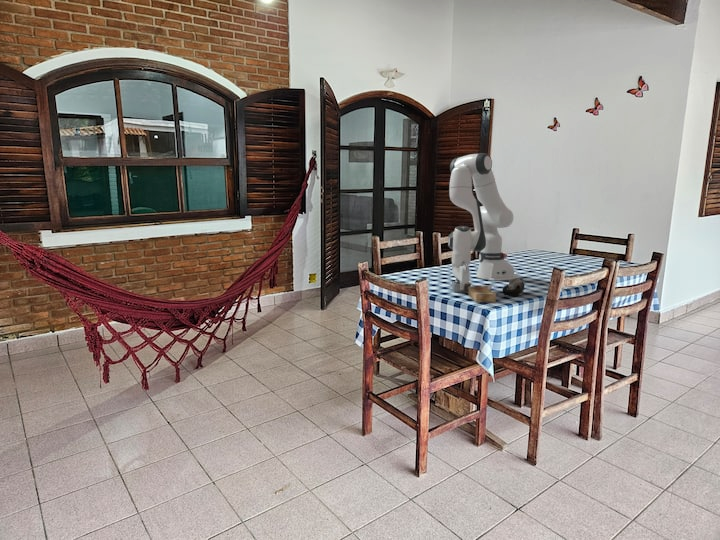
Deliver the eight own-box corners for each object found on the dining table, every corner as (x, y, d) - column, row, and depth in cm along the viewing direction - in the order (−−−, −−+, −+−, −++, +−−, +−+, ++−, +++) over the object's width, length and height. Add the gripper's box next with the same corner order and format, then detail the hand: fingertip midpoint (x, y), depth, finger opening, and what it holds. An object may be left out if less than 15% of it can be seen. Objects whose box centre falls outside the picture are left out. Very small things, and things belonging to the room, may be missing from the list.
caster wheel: (506, 301, 234) (500, 293, 244) (530, 297, 234) (523, 289, 243) (504, 289, 232) (498, 281, 242) (528, 284, 231) (522, 276, 241)
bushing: (489, 291, 244) (490, 285, 243) (492, 293, 240) (492, 287, 239) (481, 291, 244) (482, 285, 243) (484, 293, 240) (484, 287, 239)
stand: (486, 294, 238) (487, 286, 237) (495, 301, 224) (496, 293, 223) (467, 294, 237) (468, 286, 237) (475, 302, 224) (476, 293, 223)
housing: (467, 289, 246) (468, 279, 245) (470, 292, 241) (470, 282, 240) (451, 289, 246) (452, 279, 244) (454, 292, 241) (454, 282, 240)
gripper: (473, 264, 230) (471, 293, 233) (462, 256, 250) (461, 283, 253) (460, 264, 230) (458, 293, 233) (450, 256, 250) (448, 283, 253)
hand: (459, 287), depth 243 cm, fingers closed on housing, 5 cm apart
